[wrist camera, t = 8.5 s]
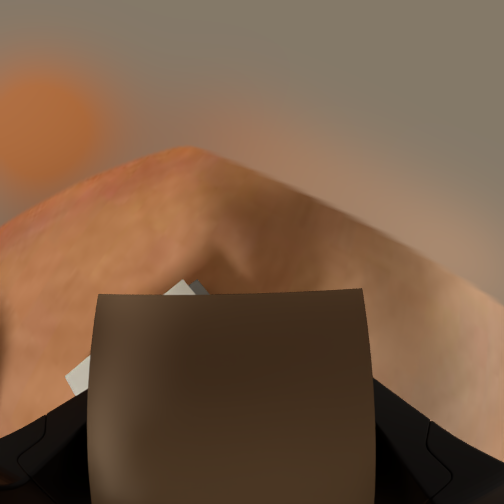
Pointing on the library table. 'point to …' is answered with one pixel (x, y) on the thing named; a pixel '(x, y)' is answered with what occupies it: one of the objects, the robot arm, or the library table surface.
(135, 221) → the library table surface
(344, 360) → the walnut block
